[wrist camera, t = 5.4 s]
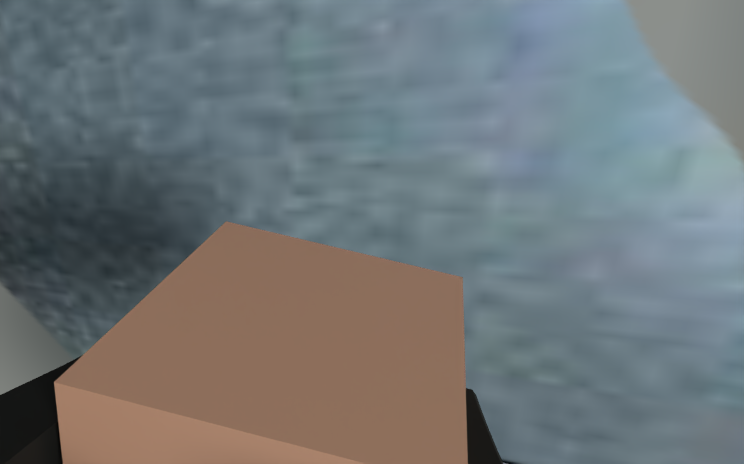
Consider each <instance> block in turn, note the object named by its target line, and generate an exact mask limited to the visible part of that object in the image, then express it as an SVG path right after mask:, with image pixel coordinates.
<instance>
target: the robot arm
mask: <svg viewBox="0 0 744 464" xmlns="http://www.w3.org/2000/svg"><path fill="white" fill-rule="evenodd" d="M82 356H83V355H82ZM82 356H80V357H82ZM80 357H78V358H76V359H75V360H73V361H71V362H69V363H67V364H65V365H63V366H61V367H59V368H57V369H55V370H53V371H50V372H48V373H46V374H44V375H42V376H40V377H38V378H36V379H33V380H32V381H30V382H27V383H25V384H23V385H21V386H19V387H16V388H14V389H12V390H10V391H8V392H6V393H4V394H2V395H0V464H63V460H62V451H61V442H60V433H59V423H58V414H57V405H56V396H55V387H54V382H55V381H56V380H57V379H58V378H59V377H60V376H61V375H62V374H63V373H64V372H65V371H67V370H68V369H69V368H70V367H71V366H72V365H73V364H74V363H75V362H76V361H77V360H78V359H79V358H80ZM466 418H467V453H468V464H507V463H503V462H502V460H501V457H500V455H499V453H498V451H497V448H496V446H495V443H494V441H493V439H492V436H491V434H490V431H489V429H488V426H487V424H486V421H485V418H484V416H483V413H482V410H481V408H480V405H479V402H478V399H477V397H476V395H475V393H474V392H473V390H471V389H467V388H466Z"/></svg>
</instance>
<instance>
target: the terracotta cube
mask: <svg viewBox="0 0 744 464" xmlns="http://www.w3.org/2000/svg"><path fill="white" fill-rule="evenodd" d="M54 387H55V396H56V405H57V414H58V423H59V433H60V442H61V451H62V460H63V464H468V453H467V418H466V382H465V347H464V311H463V277H459V276H455V275H451V274H446V273H442V272H438V271H434V270H429V269H425V268H421V267H417V266H412V265H408V264H404V263H400V262H395V261H391V260H387V259H383V258H378V257H374V256H370V255H366V254H362V253H357V252H353V251H349V250H345V249H340V248H336V247H332V246H328V245H323V244H319V243H315V242H311V241H306V240H302V239H298V238H294V237H290V236H285V235H281V234H277V233H273V232H268V231H264V230H260V229H256V228H251V227H247V226H243V225H239V224H234V223H230V222H225V223H224V224H223V225H222V226H221V227H220V228H219V229H218V230H217V231H215V232H214V233H213V234H212V235H211V236H210V237H209V238H208V239H207V240H206V241H205V242H204V243H203V244H202V245H200V246H199V247H198V248H197V249H196V250H195V251H194V252H193V253H192V254H191V255H190V256H189V257H188V258H187V259H185V260H184V261H183V262H182V263H181V264H180V265H179V266H178V267H177V268H176V269H175V270H174V271H173V272H172V273H170V274H169V275H168V276H167V277H166V278H165V279H164V280H163V281H162V282H161V283H160V284H159V285H158V286H157V287H155V288H154V289H153V290H152V291H151V292H150V293H149V294H148V295H147V296H146V297H145V298H144V299H143V300H142V301H140V302H139V303H138V304H137V305H136V306H135V307H134V308H133V309H132V310H131V311H130V312H129V313H128V314H127V315H125V316H124V317H123V318H122V319H121V320H120V321H119V322H118V323H117V324H116V325H115V326H114V327H113V328H112V329H110V330H109V331H108V332H107V333H106V334H105V335H104V336H103V337H102V338H101V339H100V340H99V341H98V342H97V343H95V344H94V345H93V346H92V347H91V348H90V349H89V350H88V351H87V352H86V353H85V354H84V355H83V356H82V357H80V358H79V359H78V360H77V361H76V362H75V363H74V364H73V365H72V366H71V367H70V368H69V369H68V370H67V371H65V372H64V373H63V374H62V375H61V376H60V377H59V378H58V379H57V380H56V381H55V382H54Z"/></svg>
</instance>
